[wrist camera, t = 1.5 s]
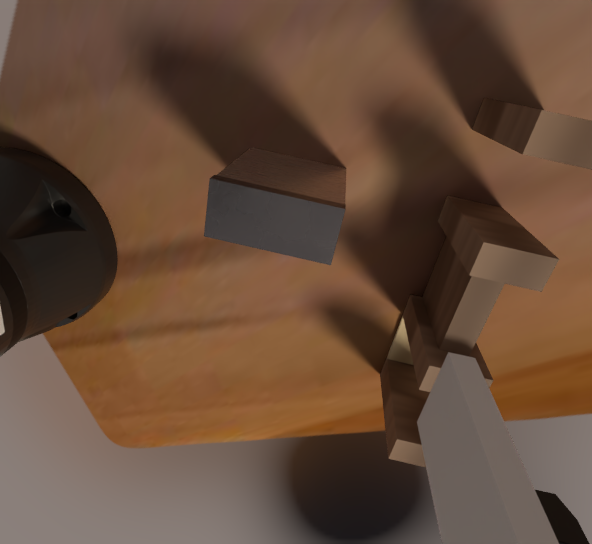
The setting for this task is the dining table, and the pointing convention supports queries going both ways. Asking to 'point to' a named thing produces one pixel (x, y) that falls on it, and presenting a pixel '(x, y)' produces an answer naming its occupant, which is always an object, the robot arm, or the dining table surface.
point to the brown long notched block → (472, 271)
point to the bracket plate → (278, 204)
